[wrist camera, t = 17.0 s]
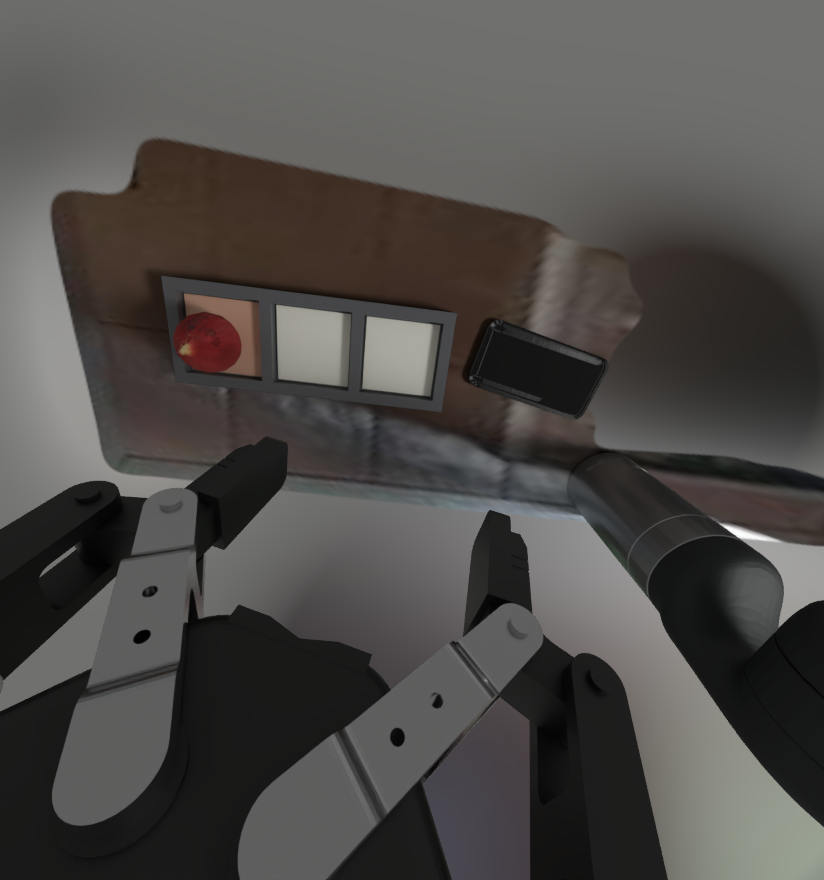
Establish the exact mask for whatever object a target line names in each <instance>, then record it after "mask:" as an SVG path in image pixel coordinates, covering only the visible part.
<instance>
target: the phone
mask: <svg viewBox="0 0 824 880" xmlns="http://www.w3.org/2000/svg"><path fill="white" fill-rule="evenodd" d="M608 366H609V365H608V362H607V360H606V359H604V358H601V357H599V356H596V355H593V354H591V353H588V352H585V351H583V350H580V349H577V348H575V347H572V346H569V345H567V344H564V343H561V342H558V341H556V340H553V339H550V338H548V337H545V336H542V335H540V334H537V333H534V332H532V331H529V330H526V329H524V328H521V327H518V326H516V325H513V324H510V323H507V322H505V321H502V320H494V321H492V322H491V323H490V324H489V326H488V327H487V330H486V332H485V335H484V337H483V340H482V342H481V345H480V347H479V350H478V352H477V355H476V357H475V360H474V362H473V365H472V367H471V370H470V372H469V380H470V382H471V383H472V384H473V385H474V386H476V387H479V388H482V389H485V390H488V391H490V392H493V393H496V394H499V395H501V396H504V397H508V398H511V399H514V400H517V401H520V402H523V403H526V404H529V405H532V406H535V407H537V408H540V409H543V410H546V411H549V412H552V413H555V414H558V415H561V416H564V417H566V418H569V419H578V418H580V417H581V416H582V415H583V414H584V413H585V411H586V409H587V407H588V405H589V403H590V401H591V400H592V398H593V396H594V394H595V392H596V390H597V389H598V387H599V385H600V383H601V381H602V380H603V377H604V376H605V374H606V372H607V370H608Z"/></svg>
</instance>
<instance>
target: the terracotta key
mask: <svg viewBox="0 0 824 880" xmlns="http://www.w3.org/2000/svg"><path fill="white" fill-rule="evenodd" d="M184 300H185V308H186V317H187V316H188V315H192V314H196V313H200V312H208V313H212V314H216V315H220V316H222V317H224V318H225V319H226V320H228V321H229V322H230V323H231V324H232V325H233V326H234V328H235V329H236V331H237V332H238V334H239V336H240V340H241V344H242V346H241V355H240V357H239V358H238V360H237V362H236V363H235V364H234V365H233V366H232V367H230V368H228V369H227V370H225V371H220V372H224V373H233V374H241V375H250V376H258V377H262V366H261V343H260V320H259V302H251V301H243V300H235V299H227V298H219V297H211V296H203V295H195V294H187V293H184ZM192 368H193V367H192ZM193 369H194V368H193Z"/></svg>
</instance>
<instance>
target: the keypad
mask: <svg viewBox="0 0 824 880" xmlns="http://www.w3.org/2000/svg"><path fill="white" fill-rule="evenodd" d="M161 278H162V285H163V292H164V299H165V307H166V314H167V321H168V329H169V336H170V343H171V351H172V358H173V365H174V372H175V380H176V382H182V383H191V384H200V385H209V386H217V387H226V388H235V389H243V390H252V391H261V392H270V393H278V394H287V395H296V396H304V397H313V398H322V399H331V400H339V401H348V402H357V403H365V404H374V405H383V406H392V407H400V408H409V409H418V410H426V411H435V412H441V411H442V405H443V398H444V392H445V386H446V379H447V373H448V366H449V360H450V354H451V347H452V341H453V334H454V328H455V322H456V315H457V313H453V312H446V311H438V310H430V309H422V308H414V307H406V306H398V305H390V304H383V303H375V302H367V301H359V300H351V299H343V298H335V297H327V296H320V295H312V294H304V293H296V292H288V291H280V290H272V289H264V288H256V287H249V286H241V285H233V284H225V283H217V282H209V281H201V280H193V279H186V278H178V277H168V276H161ZM184 293H187V294H195V295H203V296H211V297H219V298H227V299H235V300H243V301H251V302H259V320H260V343H261V366H262V377H258V376H250V375H241V374H233V373H224V372H213V373H209V372H204V371H199V370H196V369H193V368H192V367H191V366H189V365H188V364H186V363H185V362H184V361H183V360H182V359H181V358H180V357H179V356H178V355H177V352H176V349H175V347H174V340H173V335H174V332H175V329H176V327H177V325H178V324H179V323H180V322H181V321H182V320H183V319H184V318H186V308H185V300H184Z"/></svg>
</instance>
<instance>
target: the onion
mask: <svg viewBox="0 0 824 880" xmlns="http://www.w3.org/2000/svg"><path fill="white" fill-rule="evenodd" d="M173 340H174V347H175V349H176V352H177V355H178V356H179V357H180V358H181V359H182V360H183V361H184V362H185V363H186V364H188V365H189V366H191V367H193V368H194V369H196V370H199V371H204V372H209V373H213V372H220V371H225V370H227V369H228V368H230V367H232V366H233V365H234V364H235V363H236V362H237V360H238V358H239V357H240V355H241V346H242V344H241V340H240V336H239V334H238V332H237V331H236V329H235V328H234V326H233V325H232V324H231V323H230V322H229V321H228V320H226V319H225V318H224V317H222V316H220V315H216V314H212V313H208V312H200V313H196V314H192V315H188V316H187V317H186V318H184V319H183V320H182V321H181V322H180V323H179V324H178V325H177V327H176V329H175V332H174V335H173Z"/></svg>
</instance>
